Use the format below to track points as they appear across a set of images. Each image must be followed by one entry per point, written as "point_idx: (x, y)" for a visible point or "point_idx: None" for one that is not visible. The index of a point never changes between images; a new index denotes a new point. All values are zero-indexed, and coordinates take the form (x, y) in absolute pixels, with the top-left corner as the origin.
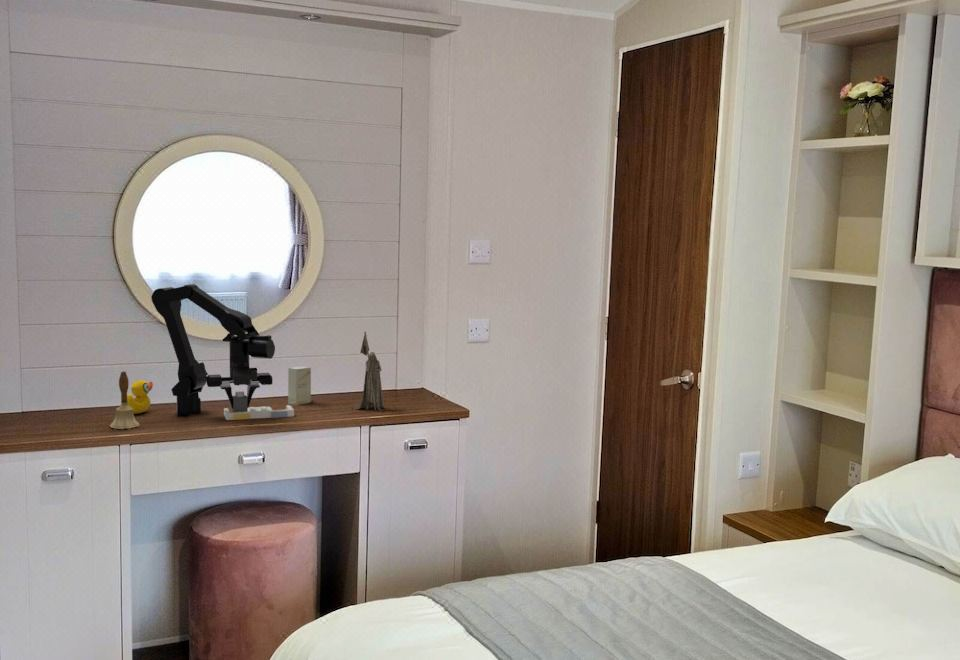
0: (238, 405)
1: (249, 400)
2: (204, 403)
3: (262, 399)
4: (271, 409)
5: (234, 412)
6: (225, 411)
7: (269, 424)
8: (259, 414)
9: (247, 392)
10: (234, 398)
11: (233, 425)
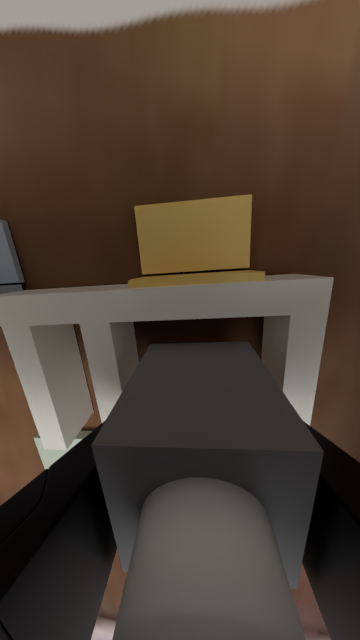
0: (220, 374)
1: (95, 436)
2: (307, 618)
3: (105, 608)
4: (46, 465)
5: (253, 305)
6: (318, 358)
7: (12, 126)
8: (68, 289)
9: (76, 625)
10: (304, 447)
11: (266, 133)
